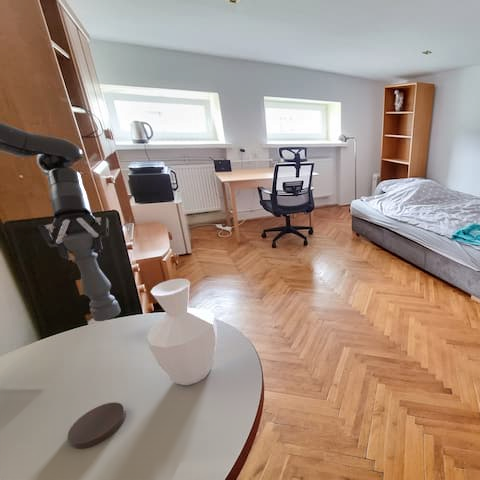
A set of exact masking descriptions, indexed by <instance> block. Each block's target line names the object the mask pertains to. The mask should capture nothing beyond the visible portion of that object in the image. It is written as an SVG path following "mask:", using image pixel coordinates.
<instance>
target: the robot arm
mask: <svg viewBox="0 0 480 480" xmlns="http://www.w3.org/2000/svg"><path fill="white" fill-rule="evenodd" d="M0 152H2V153H6V154H9V155H12V156H15V157H19V158H32V157H34V156H36V157H35V158H36V159H35V161H36V164H37V166H38V167H39V169H40V171H41V172H42V173H43V175H44V176H45V177H46V179H47V184H48V189H49V202H50V205H51V209H52V215H53V221H52V223H48V224H42V223H41V224H38V225H37V228H38V230H39V232H40V234H41V236H42V238H43V239H44V242H45V243H46V244H47V245H48V247H50V248H56V247H57V251H58V254H59V256H60V257H61V258H63V259H65V260H68V259H69V260H70V253H69V251H67V250H66V248H65V245H64V243H63V241H62V238H63V237H65V236H67V235H70V234H75V233H81V232H90V233H91V235H92V238H93V242H94V250H95V253H97V254H99V253H101V251H103V250H104V246H103V244H102V239H104V238H105V239H106V238H107V239H108V237H109V232H110V231H109V219H108V217H107V216H106V215H101V216H100V217H95V216H94V215H93V212H92V208H91V205H90V201H89V197H88V194H87V193H88V192H86V188H85V185H84V181H83V177H82V175H81V174H80V172H79V171H78V170H77V169H74V168H73V167H74V166H75V165H76V164H78V163H79V162H81V161H82V159H83V157H84V153H83V151H82V149H81V148H80V147H79V146H78V145H77V144H75V143H73V142H72V141H70V140H68V139H65V138H62V137H56V136H51V135H46V134H40V133H36V132H35V133H34V132H28V131H26V130H24V129H21V128H19V127H15V126H12V125H10V124H7V123H4V122H1V121H0ZM96 223H98V225H99V226H100V231H99V232H97V231H95V229H94V228H93V227H94V225H95V224H96ZM54 229H56V230H58V233H57V239H54V238H53V236H52V233H53V232H54Z"/></svg>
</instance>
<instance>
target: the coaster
mask: <svg viewBox="0 0 480 480" xmlns="http://www.w3.org/2000/svg"><path fill="white" fill-rule="evenodd" d="M126 418H127V412H126V409H125V407H124V405H123V404H122V403H120V402H115V401H114V402H108V403H104V404H103V403H102V404H101V405H99V406H96V407H94V408H92V409H90V410H89V411H87V412H86V413H84V414H83V415H81V416H80V417H79V418H77V420H76V421H75V422H74V423H73V424H72V425H71V427H70V428H69V429H68V432H67V441H68V443H69V444H70V446H71V447H72V448H74V449H78V450H81V449H87V448H90V447H91V448H92V447H93V446H96V445H98V444H100V443H102V442H104V441H105V440H107V439H109V438H110V437H111V436H112V435H114V434H115V433H116V432H117V431H118V430H119V429H120V428H121V427H122V426H123V424H124V422H125V421H126Z"/></svg>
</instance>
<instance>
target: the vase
mask: <svg viewBox="0 0 480 480" xmlns="http://www.w3.org/2000/svg"><path fill="white" fill-rule="evenodd" d="M190 289H191V281H190V280H189V279H188V278H173V279H168V280H165V281H162V282H159V283H158V284H156V285H155V286H153V287H152V289H151V290H150V292H149V293H150V294H151V295H152V296H153V297H154V299H155V300H156V301H157V303H158V305H160V307H161V308H162V310H164V312H165V313H166V315H164V316H163V317H162V318H161V319H159V321H157V323H155V324H154V325H153V326H152V327H151V328H150V330H149V331H148V333H147V336H146V337H145V338H146V342H147V344H148V347H149V350H150V351H151V353H152V355H153V356H154V359H155V361H156V362H157V364H158V366H159V367H160V368H161V369H162V370H163V371H164V372H165V373H166V374H167V376H168V377H169V379H170V380H171V381H172V382H173V384H177V385H182V386H191V385H193V384H197V383H199V382H200V381H202V380H203V379H205V378H207V376H208V375H209V373H210V372H211V370H212V368H213V366H214V361H215V355H216V349H217V342H218V341H217V340H218V324H217V319H216V316H215V314H214V313H212V312H211V311H210V310H208V309H202V308H191V307H189V299H190Z"/></svg>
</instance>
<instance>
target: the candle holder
mask: <svg viewBox="0 0 480 480" xmlns="http://www.w3.org/2000/svg"><path fill="white" fill-rule="evenodd" d="M62 241H63V243H64V245H65V248H66V250H67V251H68V253H69V254H71V255H72V256H73V257H72V259H71V261H72V262H73V263H75V264H76V265H77V267H78V270H79V272H80V280H81V281H80V282H81V291H82V293H83V295H85V296H86V297H88V299H90V301H89V305H88V306H89V307H90V308H89V311H90V314H91V316H92V319H93V320H94V321H95V322H105V321H109V320H111V319H114V318H115V317H117V316H118V315H120V313H121V311H122V310H121V307H120V304H119V302H118V300H117V299H116V297H115V296H114V295H112V294H111V293H110V292H111V288H112V283H111V282H110V280H109V279H108V278H107V276H106V275H105V274H104V272H103V270H101V268H100V266H99V263H98V261H97V258H98V256H99V255H98V254H99V253H97V252H94V250H95V247H94V242H93V238H92V235H91V233H90V232H81V233H75V234H70V235H67V236H65V237H63V238H62Z"/></svg>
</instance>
